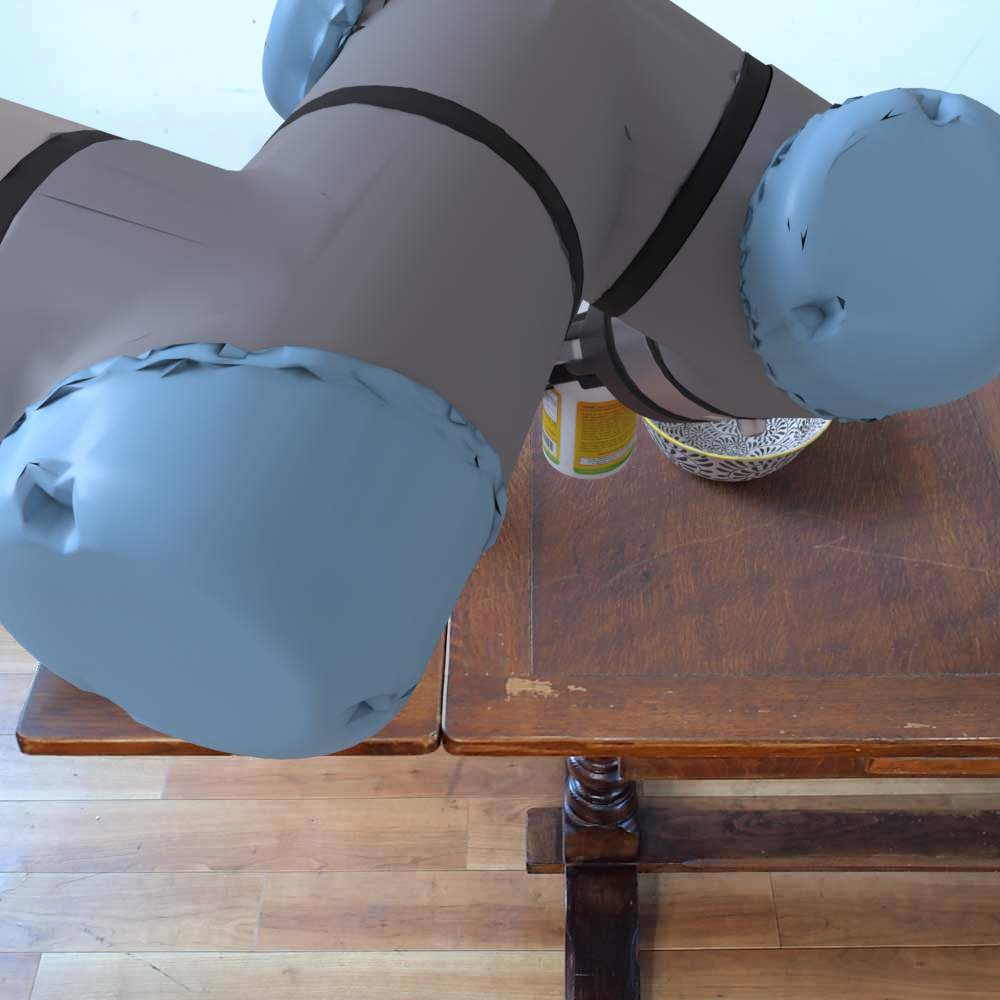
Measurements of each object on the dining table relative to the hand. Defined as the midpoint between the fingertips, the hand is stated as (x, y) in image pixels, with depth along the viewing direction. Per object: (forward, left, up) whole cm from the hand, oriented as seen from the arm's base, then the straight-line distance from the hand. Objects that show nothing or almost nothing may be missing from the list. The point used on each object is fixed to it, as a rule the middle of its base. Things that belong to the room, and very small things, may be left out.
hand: (572, 363), depth 61 cm
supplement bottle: (+1, -4, -4) cm, 5 cm away
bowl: (+13, +14, -22) cm, 30 cm away
